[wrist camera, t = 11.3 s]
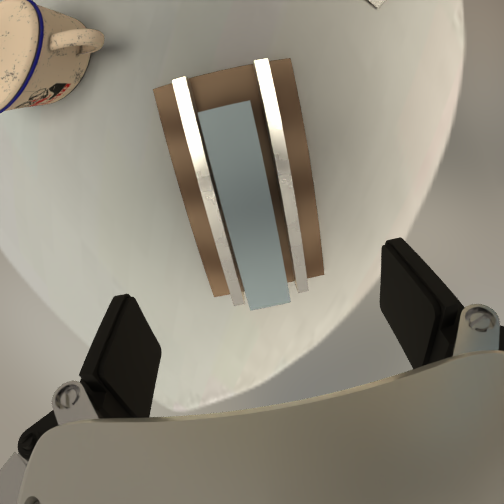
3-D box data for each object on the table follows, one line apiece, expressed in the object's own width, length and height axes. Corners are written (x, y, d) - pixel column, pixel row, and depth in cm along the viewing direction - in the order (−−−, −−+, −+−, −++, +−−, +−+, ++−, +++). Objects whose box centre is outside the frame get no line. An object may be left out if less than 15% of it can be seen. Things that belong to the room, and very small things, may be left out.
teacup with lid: (16, 112, 20) (-69, 135, 10) (23, 28, 16) (-58, 18, 6) (121, 97, 21) (45, 102, 11) (131, 1, 17) (69, -48, 7)
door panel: (208, 109, 22) (197, 112, 16) (245, 101, 22) (250, 100, 16) (246, 262, 28) (250, 310, 22) (278, 256, 28) (290, 302, 22)
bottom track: (155, 89, 21) (146, 88, 19) (288, 59, 21) (295, 54, 18) (214, 292, 31) (213, 309, 28) (322, 270, 30) (329, 285, 28)
